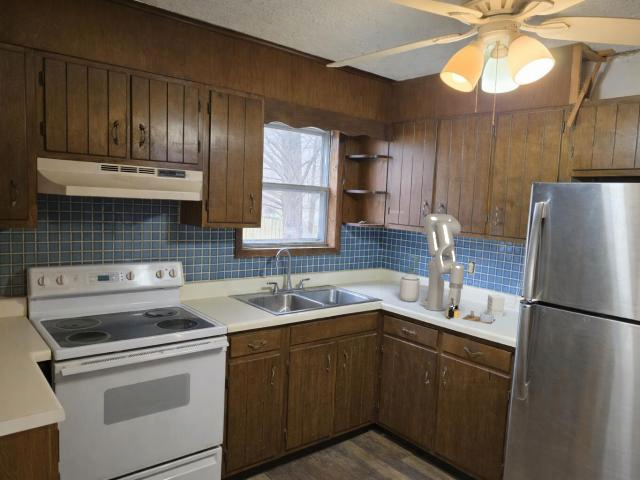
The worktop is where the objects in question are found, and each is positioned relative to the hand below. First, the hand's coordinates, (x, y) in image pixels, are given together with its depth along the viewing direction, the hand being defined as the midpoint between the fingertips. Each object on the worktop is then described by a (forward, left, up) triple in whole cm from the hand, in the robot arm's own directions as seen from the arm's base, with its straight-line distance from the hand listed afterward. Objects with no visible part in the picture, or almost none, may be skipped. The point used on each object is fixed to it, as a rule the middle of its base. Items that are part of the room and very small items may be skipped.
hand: (452, 315), depth 271 cm
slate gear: (+18, +4, -1) cm, 18 cm away
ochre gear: (0, 0, -1) cm, 1 cm away
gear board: (+14, +4, -2) cm, 14 cm away
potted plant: (-37, +26, -2) cm, 46 cm away
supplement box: (+19, +22, -2) cm, 29 cm away
